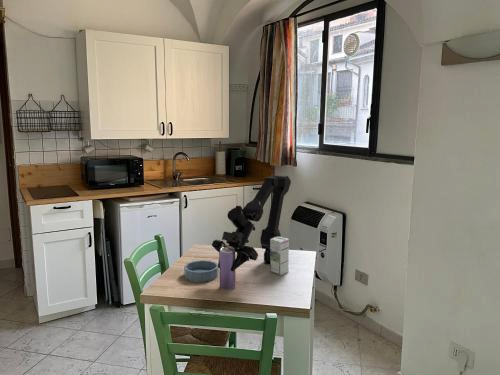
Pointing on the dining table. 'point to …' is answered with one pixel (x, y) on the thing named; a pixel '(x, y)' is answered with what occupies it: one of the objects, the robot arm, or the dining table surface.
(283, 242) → the syrup box
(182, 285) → the dining table surface
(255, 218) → the robot arm
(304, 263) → the dining table surface
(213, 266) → the bowl
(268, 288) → the dining table surface
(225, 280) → the beverage can
